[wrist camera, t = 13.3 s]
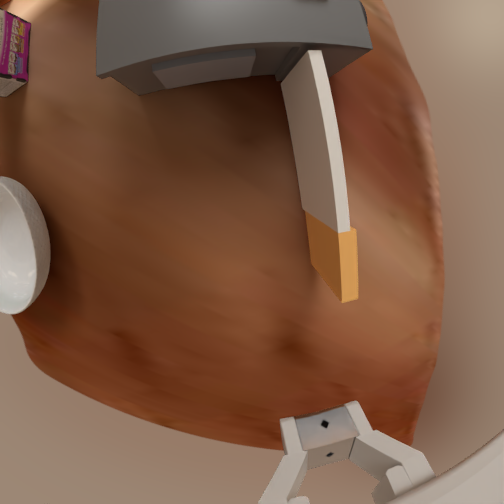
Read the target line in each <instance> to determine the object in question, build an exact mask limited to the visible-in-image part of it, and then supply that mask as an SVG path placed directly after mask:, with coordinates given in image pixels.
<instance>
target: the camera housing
mask: <svg viewBox="0 0 504 504" xmlns="http://www.w3.org/2000/svg"><path fill="white" fill-rule="evenodd" d="M372 49H373V47H372V43H371V39H370V35H369V32H368V28H367V16H366V12H365V9H364V7H363V5H362V3H361V2H360V1H359V0H99V9H98V22H97V42H96V76H97V77H99V78H101V79H103V78H106V77H109V76H111V77H113V78H114V79H116V80H117V81H119V82H120V83H121V84H123V85H124V86H126V87H127V88H129V89H130V90H131V91H133V92H134V93H136V94H137V95H143V94H147V93H151V92H155V91H159V90H163V89H171V88H176V87H181V86H186V85H192V84H198V83H204V82H210V81H217V80H225V79H233V78H243V77H249V76H258V75H275V77H276V81H283V80H284V79H285V78H286V76H287V75H288V74H289V73H290V71H291V70H292V69H293V68H294V67H295V65H296V64H297V63H298V62H299V60H300V59H301V58H302V57H303V56H304V54H305V53H306V52H307V51H308V50H321V52H322V56H323V60H324V64H325V68H326V72H327V76H328V78H329V77H331V76H332V75H334V74H335V73H337V72H338V71H340V70H341V69H343V68H344V67H345V66H347V65H348V64H350V63H352V62H353V61H355V60H356V59H358V58H359V57H361V56H362V55H364V54H365V53H367V52H369V51H370V50H372Z"/></svg>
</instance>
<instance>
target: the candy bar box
mask: <svg viewBox="0 0 504 504" xmlns="http://www.w3.org/2000/svg"><path fill="white" fill-rule="evenodd" d="M30 27H31V23H29V22H27V21H25V20H23V19H21V18H20V17H18V16H15V15H13V14H11V13H9V12H7V11H6V10H3V9H1V8H0V96H1V97H7V96H9V95H10V94H12V93H13V92H14V91H15V90H16V89H18V88H20V87H21V86H23V85H24V84H25V83H27V82H28V51H29V36H30Z"/></svg>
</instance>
